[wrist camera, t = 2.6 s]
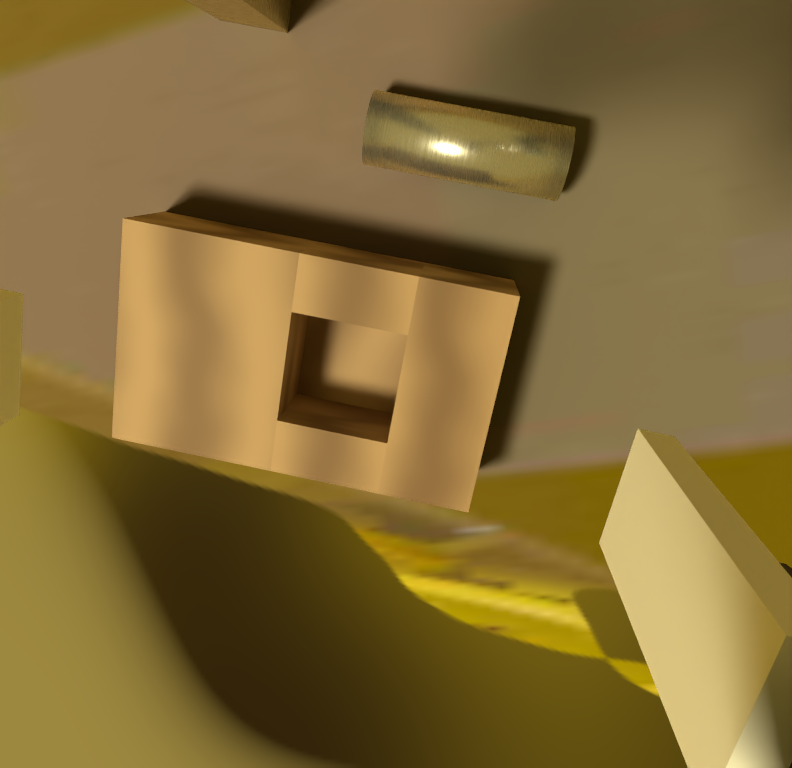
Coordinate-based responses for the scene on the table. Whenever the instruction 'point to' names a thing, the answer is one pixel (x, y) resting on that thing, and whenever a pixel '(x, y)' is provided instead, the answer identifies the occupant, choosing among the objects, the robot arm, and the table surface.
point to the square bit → (249, 12)
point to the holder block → (308, 357)
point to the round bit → (467, 145)
